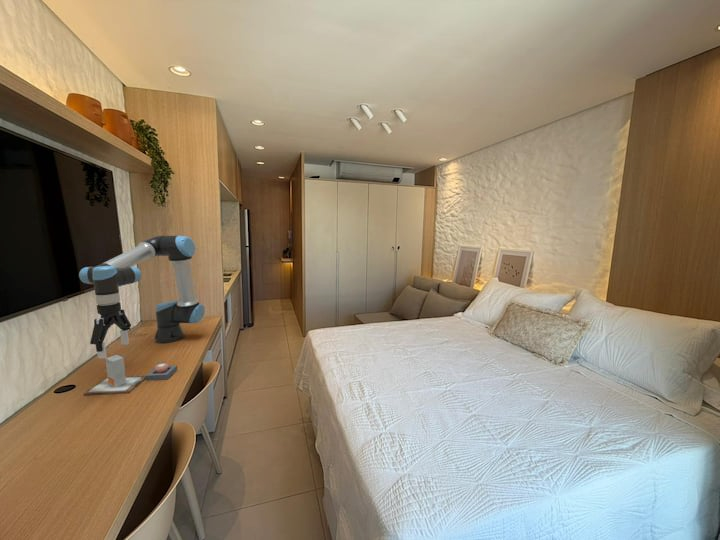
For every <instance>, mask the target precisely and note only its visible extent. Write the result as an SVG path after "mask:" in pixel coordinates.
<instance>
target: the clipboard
mask: <svg viewBox="0 0 720 540" xmlns="http://www.w3.org/2000/svg"><path fill="white" fill-rule="evenodd" d="M144 381H146V375H134V376H133V375H132V376H130V375H129V376H126V383H125V384H123V385H120V386H118V387H114V386H112V385H110V384H108V376H107V377H106V378H103V380H101V381H100V382H99V383H97V384H95V385H93V386H92V387H91V388H90V389H88V390H87V391H85V392H84V393H83V396H98V395H99V396H100V395H101V396H102V395H118V394H119V395H121V394H122V395H123V394H130V393H131V392H132V391H133V390H135V388H137V387H138V386H139V385H141V384H142V383H143V382H144Z"/></svg>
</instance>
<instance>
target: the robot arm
mask: <svg viewBox="0 0 720 540" xmlns="http://www.w3.org/2000/svg"><path fill="white" fill-rule="evenodd" d="M195 252H196V244H195V242H194V240H193V239H192V238H191V237H189V236H185V235H156V236H153V237H150V238H147V239H146V240H143V241H141V242H139V243H138V244H137V246H136V247H134V248H131V249H129V250H127V251H125V252H123V253H121V254H119V255H117V256H115V257H113V258H109V260H107V261H105V262H102V263H100V264H98V265H96V266H86V267H83V268H82V269H80V271H79V273H78V277H79V279H80V281H81V282H82V283H84V284H88V285H93V290H94V297H95V303H96V304H97V305H96V312H97V314H98V315H100V318H94V320H93V322H94V323H93V324H94V325H93V328H92V329H93V330H92V335H91V339H90V341H89V344H90V345H95V350H96V353H97V359H106V358H108V356H107V348H106V343H105V342H104V340H105V338H106V336H107V334H108V330H109V329H110V328H111V327H112V326H113V325H116V326H117V327H118V328H119V329H120V330H119V334H120V344H121V345H124V346H125V345H129V344H130V341H129V330H131V327H132V324H131V322H130V321H129V319H128V317H127V315H126V313H125V310H124V309H122V307H121V305H122V304H121V302H120V301H121V298H120V291H119V290H120V289H119V287H122V286H127V285H130V284H134V283H137V282H139V281H140V280H141V279H142V272H141V270H140V269H139V268H138V267H136V265H137V264H139V263H142V262H143V261H145V260H148V259H149V260H150V259H152V258H154V257H167V258H168V261H169V262H170V263H171V264H172V268H173V275H174V281H175V285H176V289H177V295H178V300H172V301H171V300H169V301H165V302H161V303H158V304H156V305H155V318H156V326H157V327H156V328H157V329H156V331H155V336H154V342H155V343H158V344H159V343H160V344H168V343H173V342H177V341H180V340H182V339H183V338H184V337H185V334H184V331H183V329H182V327H181V324H198V323H200V322H201V321H202V320H203V318H204V315H205V306H204V305H203V304H202V303H200V301H199V300H200V299H198V298H196V294H195V293H196V291H195V285H194V280H193V274H192V273H193V272H192V267H191V260H192V259H193V256H194V255H195Z"/></svg>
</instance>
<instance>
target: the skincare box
mask: <svg viewBox="0 0 720 540" xmlns="http://www.w3.org/2000/svg"><path fill="white" fill-rule="evenodd" d="M105 365H106V366H105V367H106V374H107V375H106V376H107V377H108V384H110V385H112V386H114V387H118V386H120V385H123V384H125V383H126V377H127V376H126V368H125V359H124V357H122V356H121V355H118V354H115V355H112V356H109V357H108V356H107V358H105Z"/></svg>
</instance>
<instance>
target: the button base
mask: <svg viewBox="0 0 720 540" xmlns="http://www.w3.org/2000/svg"><path fill="white" fill-rule="evenodd" d="M177 371H178V365H168V371H167V372H165V373H155V367H154V368H153V369H152V370H151V371H150V372H148V373H147V374H146V375H145V376H146V379H145V381H148V382H149V381H165V380H166V381H167V380H169V379H170V378H171V377H172V376H173V375H174V374H175V373H176V372H177Z"/></svg>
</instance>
